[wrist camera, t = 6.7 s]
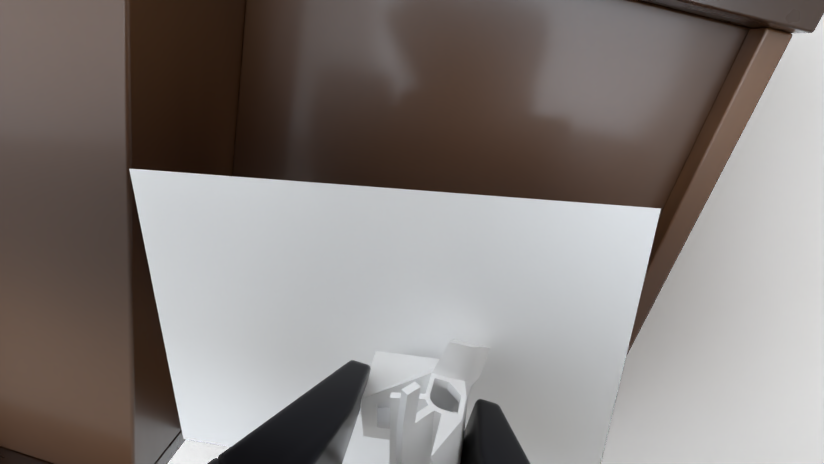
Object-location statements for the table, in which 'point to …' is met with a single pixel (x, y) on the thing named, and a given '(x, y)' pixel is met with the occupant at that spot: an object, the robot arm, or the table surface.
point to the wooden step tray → (324, 150)
